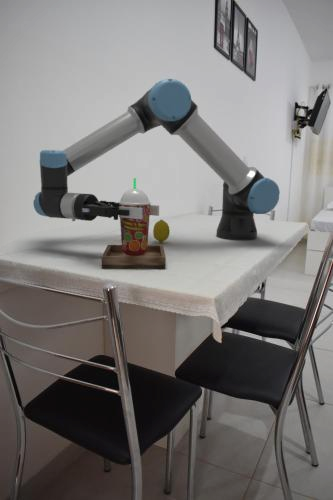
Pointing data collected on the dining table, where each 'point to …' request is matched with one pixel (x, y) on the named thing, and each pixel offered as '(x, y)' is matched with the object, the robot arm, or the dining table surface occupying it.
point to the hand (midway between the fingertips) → (150, 212)
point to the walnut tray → (133, 258)
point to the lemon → (161, 231)
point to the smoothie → (135, 222)
